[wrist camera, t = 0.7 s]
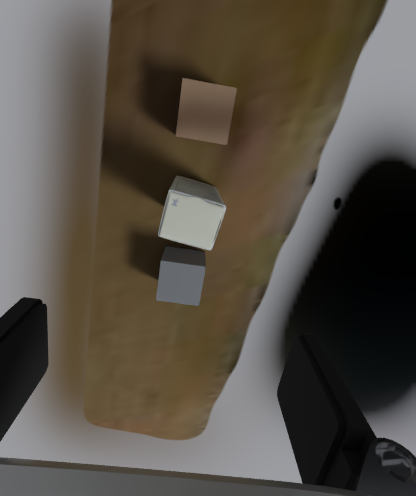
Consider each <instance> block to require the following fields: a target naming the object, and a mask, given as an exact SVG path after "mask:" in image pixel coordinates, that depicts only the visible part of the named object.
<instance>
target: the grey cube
mask: <svg viewBox="0 0 416 496" xmlns="http://www.w3.org/2000/svg"><path fill="white" fill-rule="evenodd" d="M205 268H206V262H205V252H204V251H197V250H190V249H183V248H176V247H170V246H166V247H165V250H164V253H163V256H162V259H161V263H160V272H159V280H158V288H157V297H156V300H158V301H166V302H173V303H181V304H188V305H196V306H199V302H200V297H201V291H202V285H203V279H204V274H205Z"/></svg>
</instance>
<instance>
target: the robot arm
mask: <svg viewBox="0 0 416 496" xmlns="http://www.w3.org/2000/svg"><path fill="white" fill-rule="evenodd" d="M47 367H48V331H47V306H46V304H43V303H42V300H40V299H34V298H26V297H24V298H22V299H20V300H19V301H18V302H17V303H16V304H15V305H14V306H13V307H12V308H10V309H9V310H8V311H7V312H6V313H5V314H4V315H3V316H2V317H1V318H0V441H1V440H2V438H3V437H4V435H5V434H6V432H7V431H8V429H9V428H10V426H11V425H12V423H13V422H14V420H15V418H16V417H17V415H18V414H19V412H20V411H21V409H22V408H23V406H24V404H25V403H26V402H27V400H28V398H29V397H30V395H31V394H32V392H33V391H34V389H35V388H36V386H37V385H38V383H39V382H40V380H41V379H42V377H43V375H44V374H45V372H46V370H47ZM277 397H278V401H279V404H280V408H281V411H282V415H283V418H284V421H285V425H286V428H287V432H288V435H289V438H290V442H291V445H292V449H293V452H294V455H295V459H296V462H297V466H298V469H299V473H300V476H301V479H302V483H303V484H301V483H292V482H283V481H273V480H262V479H252V478H241V477H230V476H219V475H209V474H197V473H185V472H175V471H163V470H152V469H140V468H128V467H116V466H105V465H92V464H79V463H67V462H55V461H54V462H53V461H41V460H30V459H16V458H0V496H416V457H415V456H414V455H413V454H412V453H411V452H410V451H409V450H408V449H406V448H405V447H404V446H402V445H401V444H399V443H397V442H395V441H393V440H390V439H387V438H377V437H376V436H375V434H374V432H373V431H372V429H371V427H370V425H369V424H368V422H367V420H366V419H365V417H364V415H363V413H362V412H361V410H360V408H359V407H358V405H357V403H356V401H355V400H354V398H353V396H352V395H351V393H350V391H349V389H348V388H347V386H346V384H345V383H344V381H343V379H342V377H341V376H340V374H339V373H338V371H337V369H336V367H335V366H334V364H333V362H332V360H331V359H330V357H329V355H328V354H327V352H326V350H325V348H324V347H323V345H322V343H321V342H320V340H319V338H318V337H317V335H315V334H309V333H300V334H299V336H295V337H294V339H293V342H292V345H291V349H290V352H289V355H288V358H287V361H286V364H285V368H284V371H283V374H282V377H281V380H280V383H279V386H278V391H277Z"/></svg>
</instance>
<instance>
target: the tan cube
mask: <svg viewBox="0 0 416 496" xmlns="http://www.w3.org/2000/svg"><path fill="white" fill-rule="evenodd" d="M236 90H237V88H233V87H228V86H223V85H217V84H212V83H207V82H202V81H196V80H191V79H186V78H183V79H182V87H181V95H180V104H179V112H178V121H177V129H176V136H177V137H182V138H188V139H194V140H199V141H205V142H211V143H217V144H222V145H227V141H228V136H229V130H230V124H231V118H232V113H233V107H234V101H235V95H236Z"/></svg>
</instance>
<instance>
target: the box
mask: <svg viewBox="0 0 416 496" xmlns="http://www.w3.org/2000/svg"><path fill="white" fill-rule="evenodd" d="M225 211H226V206H225V204H224V202H223V200H222V198H221V196H220V194H219V192H218V190H217V188H216V187H215V186H212V185H209V184H206V183H203V182H199V181H196V180H192V179H189V178H185V177H182V176H178V175H177V176H176V177H175V179H174V181H173V183H172V185H171V187H170V189H169V191H168V195H167V199H166V202H165V206H164V210H163V214H162V218H161V223H160V227H159V232H158V236H159V237H162V238H166V239H169V240H172V241H176V242H179V243H183V244H187V245H190V246H194V247H198V248H202V249H207V250H211V249H212V247H213V245H214V242H215V239H216V237H217V234H218V231H219V228H220V225H221V223H222V220H223V217H224V213H225Z"/></svg>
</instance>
